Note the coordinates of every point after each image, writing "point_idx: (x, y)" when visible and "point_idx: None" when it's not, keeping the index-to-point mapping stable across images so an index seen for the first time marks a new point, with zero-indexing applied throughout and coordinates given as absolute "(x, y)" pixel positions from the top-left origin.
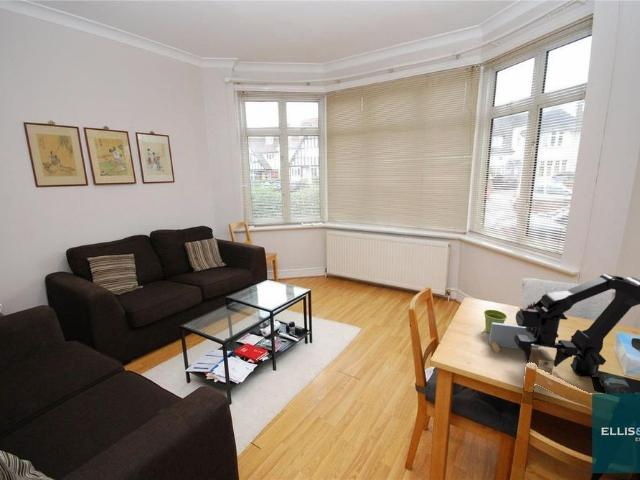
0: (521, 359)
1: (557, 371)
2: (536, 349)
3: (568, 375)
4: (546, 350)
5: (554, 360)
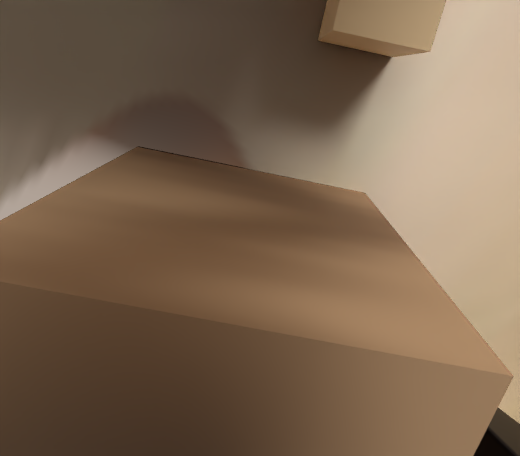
0: (9, 116)
1: None
2: (80, 376)
3: None
4: (465, 422)
5: None
